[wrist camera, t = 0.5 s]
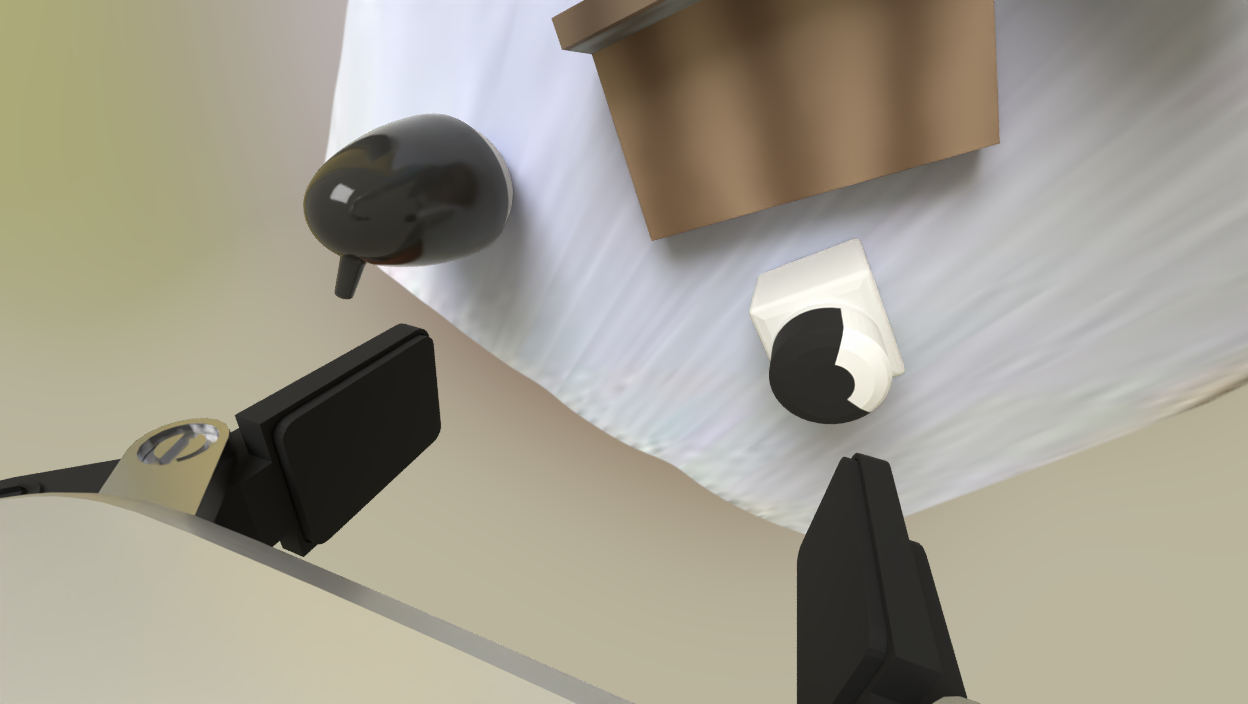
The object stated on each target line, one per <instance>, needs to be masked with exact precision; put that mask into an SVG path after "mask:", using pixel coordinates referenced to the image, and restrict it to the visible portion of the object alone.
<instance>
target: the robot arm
mask: <svg viewBox="0 0 1248 704" xmlns="http://www.w3.org/2000/svg"><path fill="white" fill-rule="evenodd" d="M235 417H236V420H237V423H238V426H239V428H238V429H236V430H235V431H233V432H230V429H229V428H228V426H227V425H226V424H225V423H223V422H221V421H219V420H216V419H208V418H200V419H199V418H198V419H188V420H183V421H178V422H174V423H171V424H168V425H165V426H162V427H159V428H157V429H155V430H153V431H151V432H149V433H147V434H145V435H144V436H142V437H141V438H139V439H138V440H136V441H135V442H134V443H133V444H132V445H131V446H130V447H129V448H128V449H127V451H126V452H125V454H124V455H123V457H122V458H121V459H118V460H112V461H106V462H100V463H95V464H89V465H83V466H77V467H71V468H65V469H60V470H54V471H48V472H43V473H36V474H31V475H25V476H19V477H14V478H9V479H5V480H1V481H0V704H634V703H632V702H630V701H628V700H625V699H623V698H621V697H618V696H616V695H614V694H611V693H609V692H607V691H605V690H602V689H600V688H598V687H596V686H593V685H591V684H589V683H586V682H584V681H582V680H579V679H577V678H575V677H573V676H570V675H568V674H566V673H564V672H561V671H559V670H557V669H554V668H552V667H550V666H548V665H545V664H543V663H541V662H538V661H536V660H534V659H532V658H529V657H527V656H525V655H523V654H520V653H518V652H516V651H513V650H511V649H509V648H506V647H504V646H502V645H499V644H497V643H495V642H492V641H490V640H488V639H486V638H483V637H481V636H479V635H476V634H474V633H472V632H469V631H467V630H465V629H463V628H460V627H458V626H456V625H453V624H451V623H448V622H446V621H444V620H442V619H439V618H437V617H435V616H432V615H430V614H428V613H426V612H423V611H421V610H419V609H416V608H414V607H411V606H409V605H407V604H405V603H402V602H400V601H398V600H395V599H393V598H390V597H388V596H386V595H383V594H381V593H379V592H377V591H374V590H372V589H370V588H367V587H365V586H362V585H360V584H358V583H356V582H353V581H351V580H349V579H346V578H344V577H342V576H339V575H337V574H335V573H332V572H330V571H327V570H325V569H323V568H320V567H318V566H316V565H313V564H311V563H309V562H306V561H304V560H302V559H299V558H297V557H294V556H292V555H290V554H287V553H285V552H283V551H280V550H278V549H275V548H273V546H274V545H275V544H276V543H278V542H279V541H280V542H281V545H282V547H283V548H284V549H286V550H288V551H291V552H293V553H295V554H298V555H300V556H302V557H304V556H305V555H307V554H308V552H310V551H311V550H312V549H313V548H314V547H315V546H316V545H317V544H323V543H325V542H326V541H328V540H329V539H330V538H331V537H332V536H333V535H334V534H335V533H336V532H338V531H339V530H340V529H341V528H342V527H343V526H344V525H345V524H346V523H347V522H348V521H349V520H350V519H352V518H353V516H355V515H356V514H357V513H358V512H359V511H360V510H361V509H362V508H363V507H364V506H365V505H366V504H368V503H369V502H370V501H371V500H372V499H373V498H374V497H375V496H376V495H377V494H378V493H379V492H380V491H381V490H383V489H384V488H385V487H386V486H387V485H388V484H389V483H390V482H391V481H392V480H393V479H394V478H395V477H396V476H397V475H398V474H399V473H401V472H402V471H403V470H404V469H405V468H406V467H407V466H408V465H409V464H410V463H411V462H412V461H414V460H415V459H416V458H417V457H418V456H419V455H420V454H421V453H422V452H423V451H424V450H425V449H426V448H427V447H429V446H430V445H431V444H432V443H433V442H434V441H435V440H436V438H437V437H438V435H439V433H440V429H441V421H440V410H439V399H438V388H437V377H436V366H435V355H434V344H433V340H432V339H431V338H430V337H429V335H428V333H427V331H425V330H424V329H421V328H417V327H414V326H410V325H407V324H398V325H396V326H394V327H392V328H390V329H389V330H387V331H385V332H383V333H382V334H380V335H378V336H376V337H374V338H373V339H371V340H369V341H367V342H365V343H364V344H362V345H360V346H358V347H356V348H355V349H353V350H351V351H349V352H347V353H346V354H344V355H342V356H340V357H338V358H337V359H335V360H333V361H331V362H329V363H328V364H326V365H325V366H322V367H321V368H319V369H317V370H315V371H313V372H311V373H310V374H308V375H306V376H304V377H302V378H301V379H299V380H297V381H295V382H293V383H292V384H290V385H288V386H286V387H285V388H283V389H281V390H279V391H277V392H276V393H274V394H272V395H270V396H268V397H267V398H265V399H263V400H261V401H259V402H258V403H256V404H254V405H252V406H250V407H249V408H247V409H245V410H243V411H241V412H240V413H238V414H236V415H235ZM797 704H980V703H978V702H976V701H972V700H969V699H967V695H966V692H965V688H964V685H963V682H962V678H961V674H960V671H959V668H958V664H957V661H956V657H955V654H954V650H953V646H952V643H951V640H950V636H949V632H948V629H947V626H946V622H945V618H944V615H943V612H942V608H941V604H940V601H939V597H938V594H937V591H936V587H935V583H934V580H933V577H932V573H931V570H930V566H929V563H928V559H927V555H926V553H925V551H924V548H923V547H922V546H921V545H920V544H919V543H917V542H914V541H911V540H909V537H908V534H907V529H906V526H905V522H904V518H903V514H902V510H901V506H900V502H899V498H898V494H897V490H896V487H895V483H894V479H893V475H892V471H891V467H890V464H889V463H888V462H887V461H884V460H881V459H877V458H874V457H870V456H867V455H863V454H860V453H855V454H854V455H853V457H852V458H851V459H850V458H847V457H843V458H842V459H841V460H840V462H839V464H838V466H837V469H836V471H835V473H834V475H833V477H832V479H831V482H830V484H829V486H828V488H827V490H826V492H825V494H824V497H823V499H822V501H821V503H820V505H819V507H818V510H817V512H816V514H815V516H814V518H813V520H812V522H811V525H810V527H809V529H808V531H807V533H806V535H805V538H804V540H803V542H802V544H801V546H800V550H799V554H798V559H797Z"/></svg>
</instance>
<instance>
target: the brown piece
mask: <svg viewBox="0 0 1248 704" xmlns="http://www.w3.org/2000/svg"><path fill="white" fill-rule="evenodd" d="M552 21H553V24H554V27H555V30H556V33H557V36H558V39H559V42H560V45H561V48H562V50H568V51H574V52H581V53H587V54H592V56H593V59H594V62H595V65H596V69H597V72H598V75H599V78H600V81H601V84H602V87H603V90H604V94H605V97H606V100H607V103H608V106H609V109H610V112H611V115H612V119H613V122H614V125H615V128H616V131H617V134H618V137H619V140H620V143H621V147H622V150H623V153H624V156H625V159H626V162H627V165H628V168H629V172H630V175H631V178H632V181H633V184H634V187H635V190H636V193H637V197H638V200H639V203H640V206H641V209H642V212H643V215H644V218H645V221H646V225H647V228H648V231H649V234H650V237H651V240H652V241H654V240H657V239H661V238H664V237H668V236H671V235H675V234H679V233H682V232H686V231H689V230H693V229H696V228H700V227H703V226H707V225H711V224H714V223H718V222H721V221H725V220H728V219H732V218H736V217H739V216H743V215H746V214H750V213H753V212H757V211H760V210H764V209H768V208H771V207H775V206H778V205H782V204H785V203H789V202H792V201H796V200H800V199H803V198H807V197H810V196H814V195H817V194H821V193H825V192H828V191H832V190H835V189H839V188H842V187H846V186H849V185H853V184H857V183H860V182H864V181H867V180H871V179H874V178H878V177H882V176H885V175H889V174H892V173H896V172H899V171H903V170H906V169H910V168H914V167H917V166H921V165H924V164H928V163H931V162H935V161H938V160H942V159H946V158H949V157H953V156H956V155H960V154H963V153H967V152H971V151H974V150H978V149H981V148H985V147H988V146H992V145H995V144H999V143H1000V139H999V114H998V89H997V64H996V39H995V14H994V0H584V1H582V2H580V3H578V4H576V5H575V6H573V7H571V8H569V9H567V10H566V11H564V12H562V13H560V14H558V15H557V16H555V17H553V18H552Z"/></svg>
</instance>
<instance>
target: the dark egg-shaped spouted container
mask: <svg viewBox="0 0 1248 704" xmlns="http://www.w3.org/2000/svg"><path fill="white" fill-rule="evenodd" d="M512 200H513V188H512V181H511V177H510V173H509V170H508V167H507V165H506V163H505V161H504V159H503V157H502V156H501V154H500V152H499V151H498V150H497V148H496V147H495V146H494V145H493V144H492V143H491V142H490V141H489V140H488V139H487V138H486V137H485V136H484V135H483V134H481V133H480V132H478V131H477V130H475V129H473V128H472V127H470V126H469V125H467V124H466V123H464V122H462V121H461V120H459V119H456V118H454V117H451V116H448V115H443V114H421V115H415V116H411V117H407V118H404V119H400V120H397V121H394V122H391V123H388V124H386V125H383V126H381V127H378V128H376V129H374V130H372V131H370V132H368V133H366V134H364V135H363V136H361V137H359V138H358V139H356V140H354V141H353V142H351V143H350V144H348V145H347V146H345V147H344V148H343V149H341V150H340V151H338V152H337V153H336V154H335V155H333V156H332V157H331V158H330V159H329V160H328V161H327V162H326V163H324V164H323V166H322V167H321V168H320V169H319V170H318V172H317V173H316V174H315V175H314V177H313V179H312V180H311V182H310V183H309V185H308V187H307V190H306V192H305V196H304V202H303V207H304V215H305V219H306V222H307V224H308V227H309V229H310V230H311V232H312V234H313V235H314V236H315V238H316V239H317V240H318V241H319V242H320V243H321V244H323V246H325V247H326V248H327V249H329V250H330V251H332V252H334V253H335V254H337V255H339V256H340V262H339V268H338V275H337V281H336V286H335V295H336V296H337V297H339V298H342V299H351V298H353V296H354V294H355V291H356V288H357V286H358V283H359V280H360V278H361V275H362V272H363V270H364V267H365V265H366V264H372V265H380V266H389V267H418V266H429V265H436V264H441V263H446V262H450V261H454V260H458V259H462V258H465V257H469V256H471V255H474V254H476V253H478V252H481V251H482V250H484V249H486V248H487V247H489V246H490V245H491V244H493V243H494V242H495V241H496V239H497V238H498V237H499V235H500V234H501V232H502V230H503V228H504V226H505V223H506V221H507V219H508V217H509V214H510V211H511V207H512Z"/></svg>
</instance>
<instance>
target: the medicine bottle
mask: <svg viewBox="0 0 1248 704" xmlns="http://www.w3.org/2000/svg"><path fill="white" fill-rule="evenodd" d="M749 315H750V317H751V320H752V322H753V324H754V326H755V329H756V331H757V333H758V335H759V337H760V340H761V342H762V344H763V346H764V349H765V351H766V353H767V355H768V358H769V360H770V369H769V380H770V385H771V389H772V391H773V393H774V395H775V397H776V398H777V400H778V401H779V402H780V403H781V404H782V406H783V407H784V408H786V409H787V410H788V411H789V412H791V413H793V414H794V415H796V416H798V417H800V418H802V419H805V420H808V421H811V422H816V423H822V424H839V423H846V422H850V421H853V420H857V419H859V418H861V417H863V416H866V415H867V414H869V413H870V412H872V411H873V410H874V409H876V408H877V407H878V406H879V405H880V404H881V403H882V402H883V400H884V399H885V397H886V396H887V394H888V392H889V389H890V386H891V382H892V377H896V376H900V375H902V374H903V373H904V372H905V367H904V364H903V361H902V358H901V355H900V352H899V349H898V347H897V344H896V341H895V338H894V335H893V332H892V329H891V326H890V324H889V321H888V318H887V315H886V312H885V309H884V306H883V303H882V301H881V298H880V295H879V292H878V289H877V286H876V283H875V280H874V278H873V275H872V272H871V269H870V266H869V263H868V261H867V258H866V255H865V252H864V249H863V247H862V244H861V241H860V240H859V239H856V238H855V239H851V240H848V241H846V242H843V243H841V244H838V245H835V246H833V247H830V248H827V249H825V250H822V251H820V252H817V253H814V254H812V255H809V256H806V257H804V258H801V259H799V260H796V261H793V262H791V263H788V264H785V265H783V266H780V267H778V268H775V269H772V270H770V271H767V272H764V273H762V274H760V275H758V278H757V281H756V285H755V289H754V293H753V297H752V301H751V305H750V309H749Z"/></svg>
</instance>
